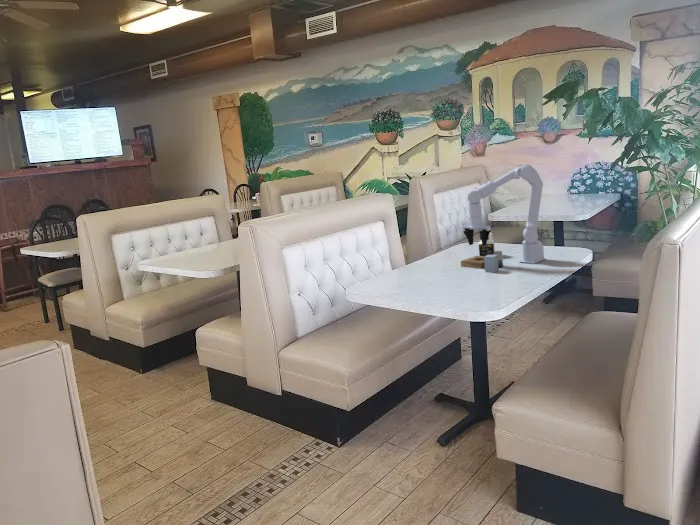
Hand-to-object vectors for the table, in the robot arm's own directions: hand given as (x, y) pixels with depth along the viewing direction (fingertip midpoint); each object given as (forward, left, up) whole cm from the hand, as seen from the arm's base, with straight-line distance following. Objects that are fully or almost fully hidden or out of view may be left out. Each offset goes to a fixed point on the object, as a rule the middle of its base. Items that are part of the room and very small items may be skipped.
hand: (477, 245), depth 262 cm
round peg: (0, +11, -9) cm, 14 cm away
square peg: (+8, +13, -10) cm, 18 cm away
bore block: (0, 0, -9) cm, 9 cm away
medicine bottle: (-17, -8, -10) cm, 21 cm away
